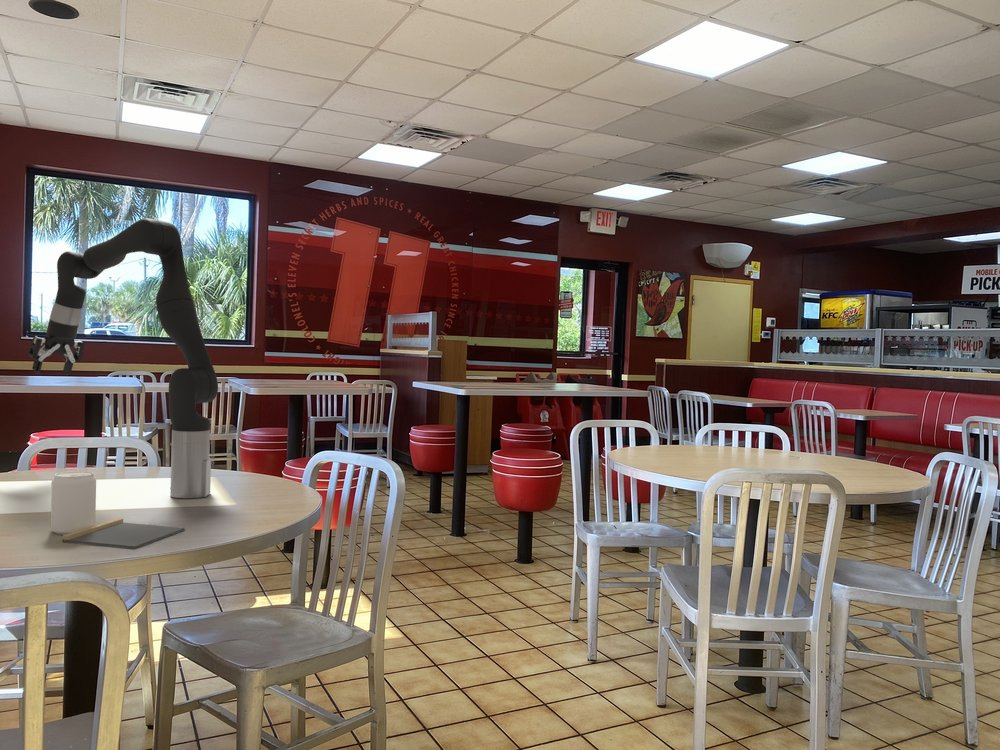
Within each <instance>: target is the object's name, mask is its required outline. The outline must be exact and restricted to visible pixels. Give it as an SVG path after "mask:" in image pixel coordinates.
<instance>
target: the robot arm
mask: <svg viewBox="0 0 1000 750" xmlns="http://www.w3.org/2000/svg"><path fill="white" fill-rule="evenodd" d="M179 232H180V231H179V230H178V228H177V227H176V226H175V225H174V224H173V223H170V222H168V221H163V220H159V219H155V218H147V217H146V218H140V219H139V220H137V221H135V222H133V223H132V224H131V225H129V226H128V227H126V228H125V229H124V230H122V231H120V232H119V233H117V234H115V235H114V236H113V237H111V238H110V239H107V240H105V241H102V242H98V243H97V244H94V245H93V246H90V247H88V248H87V249H86V250H84V252H83V253H80V252H75V251H71V250H70V251H64V252H62V253H61V254H60V255H59V257H58V259H57V263H56V270H57V271H56V272H57V292H56V296H55V300H54V304H53V305H52V309H51V311H50V314H49V320H48V323H47V329H46V334H45V337H44V338H43V337H38V336H37V335H35V336H33V338H32V341H31V343H30V347H29V349H28V353H27V355H28V356H29V357H30V358H32V359H33V365H32V367H31V368H32V370H33V372H34V373H35V374H40V373H41V370H42V366H43V362H44V359H46V358H47V357H50V356H51V355H52V354H53V355H61V356H64V357H65V359H66V360H65V362H64V366H63V370H62V373H63V374H64V375H66V376H68V375H70V374H71V372H72V370H73V366H74V363H76V362H82V359H83V353H84V348H85V342H84V341H82V340H80V339H77V340H75V339H76V338H77V334H78V330H79V326H80V323H81V319H82V313H83V312H82V310H83V308H84V307H83V306H84V303H85V299H86V293H87V291H86V289H85V288H84V287H83V286H80V285H78V284H76V283H75V278H76V279H77V278H78V279H84V280H91V279H94V278H97V277H98V276H100V274H102V273H103V272H104V271H105V270H108V269H110V268H113V267H115V266H117V265H120V264H121V263H122V262H123V261H124V260H125V258H126V257H127V255H128V254H132V253H144V254H147V255H148V254H149V255H153V256H154V255H156V256H158V257H159V259H160V263H161V266H162V273H163V276H162V279H161V283H160V284H159V288H158V290H157V293H156V296H155V306H156V311H157V315H158V319H159V322H160V325H161V327H162V329H163V331H164V332H165V333H166V335H167V336H168V338H169V339H170V340H171V341H172V342H173V343H174V344H175V345H176V346H177V347H178V349H179V350H180V351H181V353H182V354H183V356H184V359H185V361H186V364H187V367H186V368H184V367H183V368H177V369H175V370H174V371H173V372H172V374H171V376H170V377H169V378H170V379H169V382H168V409H169V414H168V415H169V420H170V422H171V449H170V450H171V451H170V452H171V455H170V456H171V458H170V459H171V460H170V462H171V463H170V492H169V493H170V497H172V498H174V499H175V498H176V499H198V498H207V497H208V496H209V495H210V493H211V481H212V479H211V477H212V476H211V474H212V471H211V470H212V458H211V457H210V449H211V448H210V447H211V446H210V444H211V443H210V440H211V437H210V436H211V419H209V418H208V417H206V416H203V415H201V414H200V413H198V411H197V404H207V403H211V402H213V401H214V400H215V399H216V397H217V396H218V393H219V383H218V382H219V381H218V378H217V374H216V371H215V368H214V366H213V363H212V361H211V357H210V356H209V352H208V351H207V347H206V344H205V341H204V337H203V333H202V330H201V327H200V323H199V319H198V314H197V313H198V312H197V310H196V306H195V302H194V298H193V296H192V292H191V288H190V284H189V279H188V275H187V272H186V266H185V265H186V264H185V259H184V252H183V246H182V245H183V244H182V240H181V239H182V238H181V235H180V233H179ZM43 344H44V345H43ZM41 346H42V347H41ZM73 347H74V350H73V352H72V350H71V349H72V348H73Z"/></svg>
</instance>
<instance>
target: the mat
mask: <svg viewBox="0 0 1000 750" xmlns="http://www.w3.org/2000/svg"><path fill="white" fill-rule="evenodd" d="M185 530H186V529H185V527H178V526H167V525H165V526H164V525H155V524H146V523H145V524H144V523H143V524H142V523H135V522H134V523H133V522H124V518H118V517H117V518H115V519H112V520H108V521H105V522H102V523H99V524H95V526H92V527H89V528H85V529H82V530H79V531H75V532H72V533H69V534H66V535H63V534H62V543H68V542H69V543H70V544H71V543H72V544H79V543H80V544H79V545H89V546H90V545H92V546H101V547H102V546H103V547H111V548H122V549H129V550H130V549H131V550H137V549H139V548H141V547H143V546H146V545H149V544H152V543H154V542H157V541H160V540H163V539H165V538H167V537H171V536H173V535H176V534H178V533H181V532H184V531H185Z"/></svg>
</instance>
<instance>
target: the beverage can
mask: <svg viewBox="0 0 1000 750" xmlns="http://www.w3.org/2000/svg"><path fill="white" fill-rule="evenodd" d="M50 503H51V504H50V506H51V507H50V530H51V532H53V533H56V534H58V535H63V534H69V533H72V532H75V531H79V530H82V529H85V528H89V527H92V526H95V525H96V520H97V519H96V517H97V516H96V511H97V510H96V509H97V508H96V507H97V505H96V504H97V477H96V476H95V475H94V472H92V471H88V470H87V471H86V470H78V471H77V470H71V471H70V470H69V471H61V472H58V473H54V477H53V479H52V480H51V501H50Z"/></svg>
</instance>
